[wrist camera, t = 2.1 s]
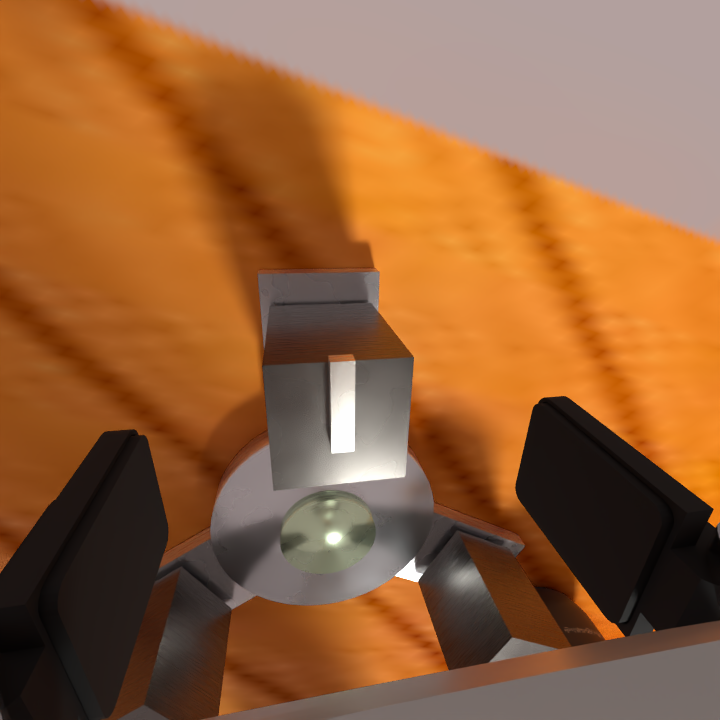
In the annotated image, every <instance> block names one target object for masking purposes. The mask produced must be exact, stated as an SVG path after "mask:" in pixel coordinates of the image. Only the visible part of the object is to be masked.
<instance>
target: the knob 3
mask: <svg viewBox="0 0 720 720" xmlns="http://www.w3.org/2000/svg"><path fill="white" fill-rule="evenodd" d="M418 582H419V585H420V588H421V591H422V594H423V597H424V600H425V603H426V606H427V609H428V611H429V614H430V617H431V620H432V623H433V626H434V629H435V632H436V635H437V637H438V640H439V643H440V646H441V649H442V652H443V655H444V658H445V661H446V664H447V666H448V669H449V670H454V669H459V668H464V667H469V666H475V665H480V664H485V663H490V662H495V661H501V660H506V659H511V658H516V657H521V656H527V655H532V654H537V653H542V652H547V651H553V650H558V649H563V648H569V647H572V646H571V645H570V643H569V642H568V640H567V638H566V637H565V635H564V634H563V632H562V630H561V629H560V627H559V626H558V624H557V623H556V621H555V619H554V618H553V616H552V615H551V613H550V612H549V610H548V608H547V607H546V605H545V604H544V602H543V600H542V599H541V597H540V596H539V594H538V593H537V591H536V589H535V588H534V586H533V585H532V583H531V582H530V580H529V578H528V577H527V575H526V574H525V572H524V570H523V569H522V567H521V566H520V564H519V563H518V561H517V559H516V558H515V556H514V555H513V553H512V551H511V550H510V549H509V548H506V547H503V546H501V545H498V544H495V543H492V542H489V541H486V540H484V539H481V538H478V537H475V536H472V535H470V534H467V533H464V532H461V531H458V530H457V531H456V532H455V534H454V535H453V536H452V537H451V539H450V540H449V541H448V542H447V544H446V545H445V546H444V548H443V549H442V550H441V551H440V553H439V554H438V555H437V556H436V558H435V559H434V560H433V562H432V563H431V564H430V565H429V567H428V568H427V569H426V570H425V572H424V573H423V574H422V576H421V577H420V578H419V579H418Z"/></svg>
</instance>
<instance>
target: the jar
mask: <svg viewBox="0 0 720 720" xmlns="http://www.w3.org/2000/svg"><path fill="white" fill-rule="evenodd" d="M534 588H535V589H536V591H537V593H538V594H539V596H540V597H541V599H542V600H543V602H544V604H545V605H546V607H547V608H548V610H549V612H550V613H551V615H552V616H553V618H554V619H555V621H556V623H557V624H558V626H559V627H560V629H561V630H562V632H563V634H564V635H565V637H566V638H567V640H568V642H569V643H570V645H571V646H572V647H574V646H579V645H585V644H590V643H596V642H601V641H606V640H605V639H604V638H603V636H602V635H601V633H600V632H599V631H598V629H597V628H596V627H595V625H594V624H593V622H592V621H591V620H590V618H589V617H588V616H587V614H586V613H585V612H584V611H583V610H582V609H581V608H580V607H579V606H577V605H576V604H575V603H574V602H573V601H572V600H571V599H570V598H568V597H567V596H566V595H564V594H563V593H560V592H558V591H555V590H552V589H549V588H544V587H534Z"/></svg>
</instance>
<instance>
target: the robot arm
mask: <svg viewBox="0 0 720 720" xmlns="http://www.w3.org/2000/svg"><path fill="white" fill-rule="evenodd" d="M515 488H516V494H517V497H518V499H519V500H520V502H521V503H522V505H523V506H524V507H525V509H526V510H527V511H528V513H529V514H530V515H531V517H532V518H533V520H534V521H535V522H536V524H537V525H538V526H539V528H540V529H541V530H542V532H543V533H544V534H545V536H546V537H547V539H548V540H549V541H550V543H551V544H552V545H553V547H554V548H555V549H556V551H557V552H558V553H559V555H560V556H561V558H562V559H563V560H564V562H565V563H566V564H567V566H568V567H569V568H570V570H571V571H572V572H573V574H574V575H575V577H576V578H577V579H578V581H579V582H580V583H581V585H582V586H583V587H584V589H585V590H586V591H587V593H588V594H589V596H590V597H591V598H592V600H593V601H594V602H595V604H596V605H597V606H598V608H599V609H600V610H601V612H602V613H603V615H604V616H605V617H606V618H607V619H608V620H609V621H610V622H612V623H615V624H616V625H617V626H618V628H619V629H620V630H621V632H622V633H623V634H624V636H625V637H622V638H617V639H612V640H606V641H601V642H596V643H590V644H585V645H579V646H574V647H569V648H563V649H558V650H553V651H547V652H542V653H537V654H532V655H527V656H521V657H516V658H511V659H506V660H501V661H495V662H490V663H485V664H480V665H475V666H469V667H464V668H459V669H454V670H449V671H444V672H438V673H433V674H428V675H423V676H418V677H413V678H407V679H402V680H397V681H392V682H387V683H382V684H377V685H372V686H366V687H361V688H356V689H351V690H346V691H341V692H336V693H331V694H326V695H321V696H316V697H311V698H306V699H301V700H296V701H291V702H286V703H281V704H276V705H271V706H266V707H261V708H256V709H251V710H246V711H241V712H236V713H231V714H226V715H221V716H216V717H211V718H207V719H202V720H720V522H719V524H718V525H717V527H716V528H715V527H713V526H712V525H711V524H710V523H709V522H707V521H708V519H709V517H710V515H711V513H712V511H713V508H711V507H710V506H709V505H708V504H706V503H705V502H704V501H702V500H701V499H700V498H698V497H697V496H696V495H695V494H693V493H692V492H691V491H689V490H688V489H687V488H685V487H684V486H683V485H681V484H680V483H679V482H678V481H676V480H675V479H674V478H672V477H671V476H670V475H668V474H667V473H666V472H665V471H663V470H662V469H661V468H659V467H658V466H657V465H655V464H654V463H653V462H651V461H650V460H649V459H648V458H646V457H645V456H644V455H642V454H641V453H640V452H638V451H637V450H636V449H635V448H633V447H632V446H631V445H629V444H628V443H627V442H625V441H624V440H623V439H621V438H620V437H619V436H618V435H616V434H615V433H614V432H612V431H611V430H610V429H608V428H607V427H606V426H605V425H603V424H602V423H601V422H599V421H598V420H597V419H595V418H594V417H593V416H591V415H590V414H589V413H588V412H586V411H585V410H584V409H582V408H581V407H580V406H578V405H577V404H576V403H575V402H573V401H572V400H571V399H569V398H568V397H566V396H560V397H547V398H542V399H541V400H540V401H539V402H538V404H536V405H535V406H534V407H533V410H532V415H531V419H530V423H529V428H528V432H527V437H526V441H525V446H524V450H523V454H522V459H521V463H520V468H519V472H518V476H517V481H516V487H515ZM167 541H168V523H167V519H166V515H165V511H164V506H163V502H162V498H161V494H160V490H159V485H158V481H157V477H156V473H155V469H154V464H153V460H152V456H151V452H150V448H149V444H148V440H147V438H146V436H145V435H138V433H137V431H136V430H134V429H132V430H119V431H107V432H104V433H103V434H102V435H101V436H100V438H99V439H98V441H97V442H96V443H95V445H94V446H93V448H92V449H91V451H90V452H89V453H88V455H87V456H86V458H85V459H84V461H83V462H82V463H81V465H80V466H79V468H78V469H77V470H76V472H75V473H74V475H73V476H72V478H71V479H70V480H69V482H68V483H67V485H66V486H65V487H64V489H63V490H62V492H61V493H60V495H59V496H58V497H57V499H56V500H54V501H53V502H52V503H51V504H50V505H49V506H48V507H47V509H46V510H45V511H44V513H43V514H42V516H41V517H40V518H39V520H38V521H37V523H36V524H35V525H34V527H33V528H32V530H31V531H30V532H29V534H28V535H27V537H26V538H25V539H24V541H23V542H22V544H21V545H20V546H19V548H18V549H17V551H16V552H15V553H14V555H13V556H12V558H11V559H10V560H9V562H8V563H7V565H6V566H5V567H4V569H3V570H2V572H1V573H0V720H102V719H106V718H109V717H110V716H111V714H112V713H113V711H114V708H115V706H116V703H117V700H118V696H119V693H120V690H121V687H122V684H123V681H124V677H125V674H126V671H127V668H128V665H129V662H130V658H131V655H132V652H133V649H134V646H135V643H136V640H137V636H138V633H139V630H140V627H141V624H142V621H143V617H144V614H145V611H146V608H147V605H148V602H149V598H150V595H151V592H152V589H153V586H154V583H155V579H156V576H157V573H158V570H159V567H160V564H161V561H162V557H163V554H164V551H165V548H166V545H167ZM653 629H655V630H656V631H655V632H652V631H653Z"/></svg>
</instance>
